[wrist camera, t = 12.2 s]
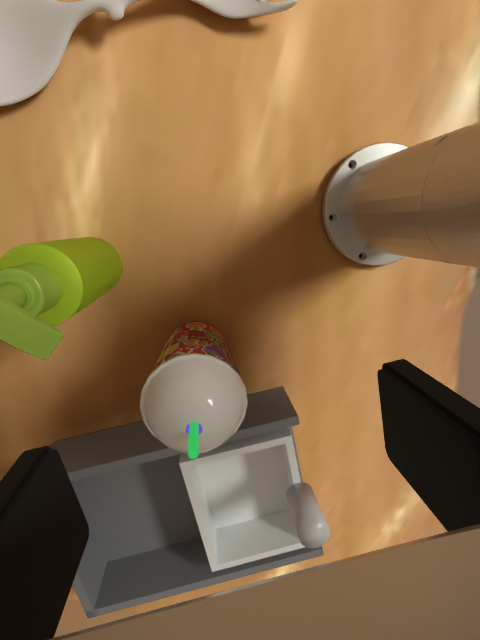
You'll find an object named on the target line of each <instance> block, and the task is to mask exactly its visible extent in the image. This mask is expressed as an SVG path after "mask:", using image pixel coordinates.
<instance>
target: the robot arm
mask: <svg viewBox="0 0 480 640" xmlns="http://www.w3.org/2000/svg"><path fill="white" fill-rule="evenodd" d="M349 163H350V164H351V168H349V166H348V164H349ZM322 213H323V223H324V226H325V230H326V233H327V235H328V237H329V239H330V241H331V243H332V244H333V245H334V247H335V248H336V249H337V250H338V251H339V252H340V253H341V254H342V255H344V256H345V257H346V258H348V259H350V260H352V261H354V262H357V263H361V264H365V265H371V266H377V265H386V264H390V263H393V262H396V261H398V260H400V259H402V258H404V257H405V256H407V257H413V258H420V259H426V260H432V261H439V262H445V263H452V264H459V265H467V266H473V267H480V121H479V122H476V123H474V124H471V125H469V126H466V127H463V128H461V129H458V130H455V131H453V132H450V133H447V134H444V135H442V136H439V137H436V138H434V139H431V140H428V141H425V142H423V143H420V144H417V145H415V146H412V147H407V146H404V145H401V144H398V143H390V142H384V143H375V144H372V145H369V146H366V147H364V148H362V149H360V150H358V151H356V152H354V153H353V154H351V155H350V156H349V157H347V158H346V159H345V160H344V161H343V162H342V163H341V164H340V165H339V166H338V167H337V169H336V170H335V172H334V173H333V175H332V176H331V178H330V180H329V183H328V185H327V187H326V190H325V194H324V198H323V208H322ZM330 215H331V216H332V219H331V220H329V216H330ZM359 254H361V257H360V258H359ZM378 384H379V394H380V403H381V412H382V421H383V430H384V439H385V448H386V452H387V455H388V457H389V459H390V460H391V462H392V463H393V464H394V466H395V467H396V468H397V469H398V470H399V472H400V473H401V474H402V475H403V477H404V478H405V479H406V480H407V482H408V483H409V484H410V485H411V487H412V488H413V489H414V490H415V491H416V493H417V494H418V495H419V496H420V498H421V499H422V500H423V501H424V503H425V504H426V505H427V506H428V508H429V509H430V510H431V511H432V512H433V514H434V515H435V516H436V517H437V519H438V520H439V521H440V522H441V524H442V525H443V526H444V527H445V529H446V530H447V531H448V532H446V533H442V534H438V535H434V536H430V537H426V538H421V539H417V540H414V541H410V542H406V543H402V544H398V545H395V546H391V547H387V548H383V549H380V550H376V551H372V552H368V553H364V554H361V555H357V556H353V557H349V558H345V559H342V560H338V561H334V562H330V563H327V564H323V565H319V566H315V567H311V568H308V569H304V570H300V571H296V572H293V573H289V574H285V575H281V576H278V577H274V578H270V579H267V580H263V581H259V582H256V583H252V584H248V585H244V586H241V587H237V588H233V589H230V590H226V591H222V592H219V593H215V594H211V595H208V596H204V597H200V598H197V599H193V600H189V601H185V602H182V603H178V604H174V605H171V606H167V607H163V608H160V609H156V610H152V611H149V612H145V613H142V614H138V615H134V616H131V617H127V618H124V619H120V620H117V621H113V622H109V623H106V624H102V625H98V626H95V627H91V628H88V629H84V630H80V631H77V632H73V633H70V634H66V635H62V636H59V637H55V638H53V637H54V635H55V632H56V629H57V626H58V623H59V620H60V618H61V615H62V612H63V609H64V606H65V603H66V601H67V598H68V595H69V592H70V589H71V587H72V584H73V581H74V578H75V575H76V573H77V570H78V567H79V564H80V561H81V558H82V556H83V553H84V550H85V547H86V544H87V541H88V538H89V526H88V523H87V520H86V518H85V515H84V513H83V510H82V508H81V506H80V503H79V501H78V498H77V496H76V493H75V491H74V489H73V486H72V484H71V481H70V479H69V476H68V474H67V472H66V469H65V467H64V464H63V462H62V459H61V457H60V454H59V453H58V451H57V450H55V449H53V450H52V449H51V448H50V447H49V446H44V447H40V448H36V449H31V450H27V451H24V452H23V453H22V454H21V456H20V457H19V458H18V459H17V461H16V462H15V463H14V465H13V466H12V467H11V468H10V470H9V471H8V472H7V474H6V475H5V476H4V478H3V479H2V480H1V481H0V640H480V408H478V407H477V406H475V405H474V404H472V403H471V402H469V401H468V400H466V399H465V398H463V397H461V396H460V395H458V394H457V393H455V392H454V391H452V390H451V389H449V388H448V387H446V386H445V385H443V384H442V383H440V382H439V381H437V380H436V379H434V378H432V377H431V376H429V375H428V374H426V373H425V372H423V371H422V370H420V369H419V368H417V367H416V366H414V365H413V364H411V363H410V362H408V361H407V360H405V359H401V360H397V361H393V362H388V363H384V364H383V366H382V369H381V370H378Z"/></svg>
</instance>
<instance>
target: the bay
mask: <svg viewBox="0 0 480 640" xmlns="http://www.w3.org/2000/svg"><path fill="white" fill-rule="evenodd" d="M247 400H248V405H247V409H246V414H245V418H244V420H243V421H242V423H241V425H240V427H239V428H238V430H237V431H236V432H235V433H234V434H233V435H232V436H231V437H230V438H228V439H227V440H226V441H225V442H224V443H226V442H230V441H234V440H238V439H242V438H246V437H250V436H254V435H258V434H262V433H266V432H270V431H274V430H278V429H282V428H286V427H288V428H289V430H290V432H291V435H292V439H293V444H294V450H295V455H296V460H297V465H298V470H299V475H300V481H301V482H302V478H301V473H300V468H299V462H298V457H297V452H296V447H295V442H294V436H293V431H292V426H294V425H298V424H299V419H298V415H297V413H296V411H295V409H294V407H293V405H292V403H291V401H290V399H289V398H288V396H287V394H286V392H285V390H284V388H283V386H282V387H278V388H274V389H270V390H266V391H262V392H258V393H253V394H249V395H247ZM51 449H52V450H53V449H55V450H57V451H58V453H59V454H60V457H61V459H62V462H63V464H64V467H65V469H66V472H67V474H68V476H69V479H70V481H71V484H72V486H73V489H74V491H75V493H76V496H77V498H78V501H79V503H80V506H81V508H82V510H83V513H84V515H85V518H86V520H87V523H88V526H89V538H88V541H87V544H86V547H85V550H84V553H83V556H82V558H81V561H80V564H79V567H78V570H77V573H76V575H75V578H74V581H73V587H74V589H75V591H76V593H77V596H78V598H79V600H80V602H81V604H82V606H83V609H84V611H85V613H86V615H87V618H92V617H96V616H99V615H103V614H107V613H111V612H114V611H118V610H122V609H125V608H129V607H133V606H136V605H140V604H144V603H148V602H151V601H155V600H159V599H162V598H166V597H170V596H174V595H177V594H181V593H185V592H188V591H192V590H196V589H200V588H203V587H207V586H211V585H214V584H218V583H222V582H226V581H229V580H233V579H237V578H240V577H244V576H248V575H251V574H255V573H259V572H263V571H266V570H270V569H274V568H277V567H281V566H285V565H289V564H292V563H296V562H300V561H303V560H307V559H311V558H315V557H318V556H322V555H323V549H322V546H321V547H318V548H307V547H304V548H300V549H296V550H293V551H289V552H285V553H281V554H278V555H274V556H270V557H267V558H263V559H259V560H255V561H252V562H248V563H244V564H240V565H237V566H233V567H229V568H225V569H222V570H218V571H214V572H212V570H211V567H210V564H209V560H208V557H207V554H206V550H205V547H204V544H203V541H202V537H201V534H200V531H199V527H198V524H197V521H196V517H195V514H194V511H193V508H192V504H191V501H190V498H189V494H188V491H187V488H186V484H185V481H184V478H183V475H182V471H181V468H180V465H179V460H180V454H182V453H180V452H178V451H175V450H173V449H170V448H168V447H167V446H165V445H164V444H163V443H162V442H160V441H159V440H158V439H157V438H156V437H155V436H153V435H152V434H151V433H150V431H149V430H148V428H147V426H146V425H145V423H144V422H143V421H138V422H134V423H130V424H126V425H122V426H118V427H114V428H110V429H106V430H101V431H97V432H93V433H89V434H85V435H81V436H77V437H73V438H69V439H64V440H60V441H56V442H54V443H53V445H52V446H51Z"/></svg>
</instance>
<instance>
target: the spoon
mask: <svg viewBox="0 0 480 640" xmlns="http://www.w3.org/2000/svg"><path fill="white" fill-rule="evenodd" d="M137 1H140V0H80V1H75V2H60V1H57V0H0V106H6V105H11V104H14V103H18V102H20V101H23V100H25V99H27V98H29V97H31V96H33V95H34V94H36V93H37V92H39V91H40V90H41V89H42V88H43V87H44V86H45V85H46V84H47V83H48V82H49V81H50V79H51V78H52V77H53V75H54V73H55V72H56V70H57V68H58V66H59V64H60V62H61V59H62V57H63V55H64V52H65V50H66V47H67V45H68V42H69V40H70V38H71V35H72V33H73V31H74V30H75V28H76V27H77V25H78V24H79V23H80V22H81V21H82V20H83V19H84V18H86V17H87V16H89V15H90V14H92V13H95V12H99V11H102V12H105V13H107V14H108V16H109V17H110V18H111V19H112V20H120V19H122V18H123V16H124V11H125V9H126V8H127V7H128V6H129V5H131V4H133V3H135V2H137ZM191 1H193V2H196V3H198V4H200V5H202V6H204V7H205V8H207V9H209V10H211V11H213V12H215V13H217V14H219V15H221V16H224V17H227V18H233V19H241V18H249V17H256V16H262V15H269V14H274V13H278V12H282V11H285V10H288V9H290V8H291V7H293V6H294V5H296V4H297V2H298V0H286V1H281V2H275V3H267V2H269V1H270V0H191Z"/></svg>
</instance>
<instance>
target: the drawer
mask: <svg viewBox="0 0 480 640" xmlns="http://www.w3.org/2000/svg"><path fill="white" fill-rule="evenodd" d="M179 465H180V468H181V471H182V475H183V478H184V481H185V484H186V488H187V491H188V494H189V498H190V501H191V504H192V508H193V511H194V514H195V517H196V521H197V524H198V527H199V531H200V534H201V537H202V541H203V544H204V547H205V550H206V554H207V557H208V560H209V564H210V567H211V570H212V572H214V571H218V570H222V569H225V568H229V567H233V566H237V565H240V564H244V563H248V562H252V561H255V560H259V559H263V558H267V557H270V556H274V555H278V554H281V553H285V552H289V551H293V550H296V549H300V548H304V547H307V548H318V547H321V546H323V545H324V544H325V543H326V542H327V541H328V539H329V537H330V530H329V528H328V525H327V523H326V521H325V518H324V516H323V514H322V511H321V509H320V507H319V504H318V502H317V499H316V497H315V495H314V492H313V490H312V488H311V486H310V485H308V484H307V483H303V482H301V481H300V475H299V470H298V465H297V460H296V455H295V450H294V444H293V439H292V435H291V432H290V430H289V428H288V427H286V428H282V429H278V430H274V431H270V432H266V433H262V434H258V435H254V436H250V437H246V438H242V439H238V440H234V441H230V442H226V443H223V444H222V445H220V446H218V447H216V448H214V449H212V450H210V451H208V452H204V453H199V454H198V457H197V458H195V459H191V458H189V456H188V454H187V453H182V454H180V460H179Z"/></svg>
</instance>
